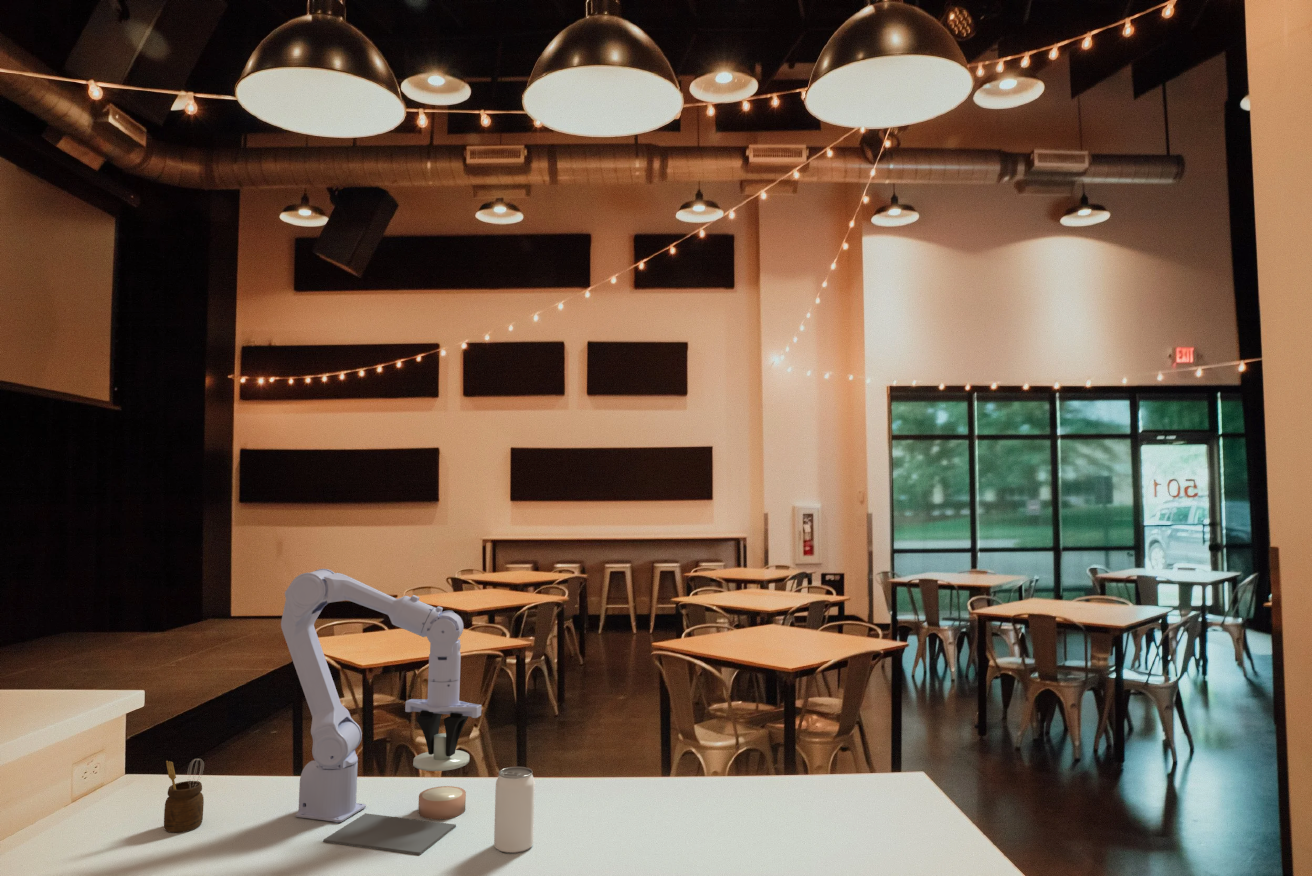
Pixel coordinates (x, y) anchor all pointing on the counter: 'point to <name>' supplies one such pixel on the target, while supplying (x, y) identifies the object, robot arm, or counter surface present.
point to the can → (514, 810)
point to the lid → (440, 757)
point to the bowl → (442, 802)
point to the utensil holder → (183, 804)
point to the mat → (391, 833)
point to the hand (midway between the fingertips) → (441, 753)
